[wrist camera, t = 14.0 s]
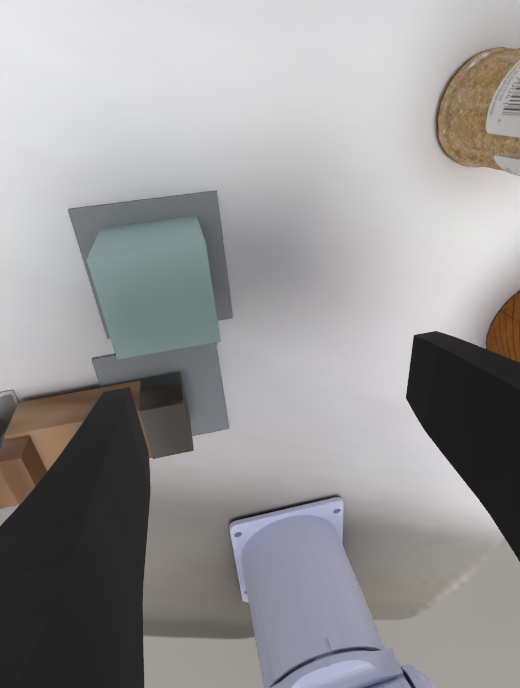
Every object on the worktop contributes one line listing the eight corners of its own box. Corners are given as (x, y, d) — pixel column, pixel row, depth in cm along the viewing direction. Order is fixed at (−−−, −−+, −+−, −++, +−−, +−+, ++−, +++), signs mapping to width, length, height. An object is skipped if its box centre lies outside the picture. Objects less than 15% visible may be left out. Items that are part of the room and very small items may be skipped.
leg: (-47, 464, 22) (-83, 529, 18) (-76, 419, 20) (-120, 482, 17) (190, 418, 23) (195, 470, 20) (180, 372, 22) (184, 421, 18)
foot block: (209, 300, 20) (220, 341, 17) (123, 314, 20) (117, 359, 16) (196, 215, 18) (205, 242, 15) (100, 228, 18) (86, 259, 14)
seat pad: (232, 316, 21) (232, 317, 21) (108, 337, 20) (107, 338, 20) (216, 190, 18) (216, 191, 18) (68, 208, 17) (68, 209, 17)
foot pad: (228, 426, 25) (228, 428, 24) (122, 448, 24) (122, 450, 24) (214, 337, 21) (215, 338, 21) (92, 358, 21) (91, 360, 20)
